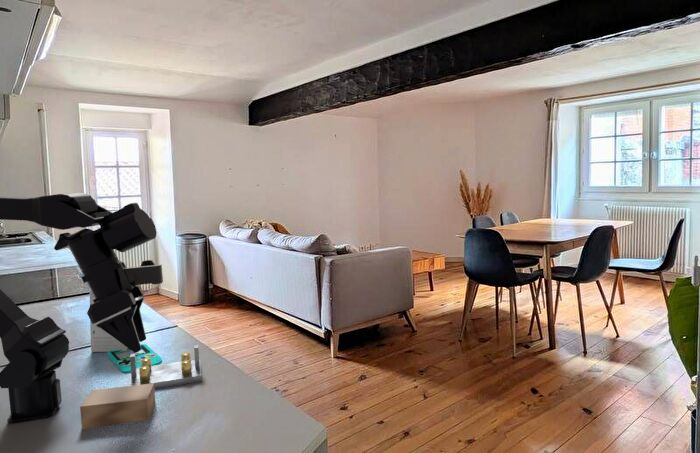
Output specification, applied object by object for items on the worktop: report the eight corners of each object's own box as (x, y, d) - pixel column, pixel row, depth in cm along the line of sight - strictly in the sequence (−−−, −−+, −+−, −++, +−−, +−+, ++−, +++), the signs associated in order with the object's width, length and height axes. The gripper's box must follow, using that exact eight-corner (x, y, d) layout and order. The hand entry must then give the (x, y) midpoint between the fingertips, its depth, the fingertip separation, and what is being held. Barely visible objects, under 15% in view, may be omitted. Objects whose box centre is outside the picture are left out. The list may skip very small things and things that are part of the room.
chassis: (128, 393, 86) (126, 364, 85) (133, 374, 94) (131, 347, 94) (201, 381, 90) (200, 353, 90) (199, 364, 99) (198, 339, 98)
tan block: (81, 430, 74) (80, 406, 73) (93, 412, 79) (92, 390, 79) (148, 422, 76) (147, 398, 75) (155, 404, 82) (154, 383, 81)
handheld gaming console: (123, 370, 94) (106, 350, 106) (123, 375, 94) (106, 355, 106) (164, 360, 100) (144, 342, 111) (165, 364, 100) (144, 346, 111)
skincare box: (90, 353, 106) (85, 290, 105) (103, 343, 112) (99, 284, 111) (127, 351, 107) (123, 289, 105) (138, 342, 113) (134, 283, 111)
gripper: (141, 242, 71) (186, 332, 72) (151, 243, 88) (186, 315, 90) (65, 274, 67) (114, 368, 68) (91, 269, 85) (129, 343, 86)
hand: (141, 345), depth 78 cm, fingers open, 9 cm apart
